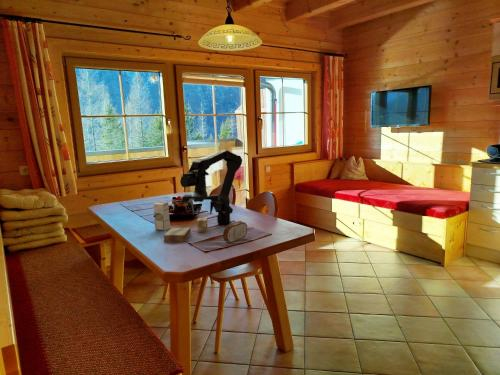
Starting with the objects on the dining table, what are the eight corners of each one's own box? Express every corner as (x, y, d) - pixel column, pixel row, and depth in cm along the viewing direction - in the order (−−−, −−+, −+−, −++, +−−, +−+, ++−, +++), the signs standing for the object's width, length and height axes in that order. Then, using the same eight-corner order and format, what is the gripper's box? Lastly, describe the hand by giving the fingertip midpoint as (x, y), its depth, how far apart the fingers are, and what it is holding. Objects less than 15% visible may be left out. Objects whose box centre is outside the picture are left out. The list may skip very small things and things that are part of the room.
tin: (243, 235, 169) (243, 218, 167) (248, 236, 167) (248, 219, 165) (222, 243, 158) (221, 226, 156) (227, 245, 156) (226, 227, 154)
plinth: (190, 233, 173) (190, 227, 173) (185, 241, 162) (184, 235, 161) (171, 234, 174) (170, 227, 173) (164, 241, 162) (163, 235, 162)
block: (207, 229, 181) (207, 218, 180) (206, 231, 177) (205, 220, 176) (199, 229, 181) (198, 218, 180) (197, 231, 177) (196, 220, 176)
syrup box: (170, 227, 185) (168, 201, 182) (164, 230, 179) (162, 203, 177) (161, 227, 187) (159, 201, 184) (155, 230, 181) (153, 203, 179)
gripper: (178, 187, 167) (180, 218, 170) (216, 187, 166) (217, 218, 169) (183, 184, 178) (185, 213, 181) (219, 183, 177) (220, 212, 180)
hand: (202, 214), depth 178 cm, fingers open, 9 cm apart
